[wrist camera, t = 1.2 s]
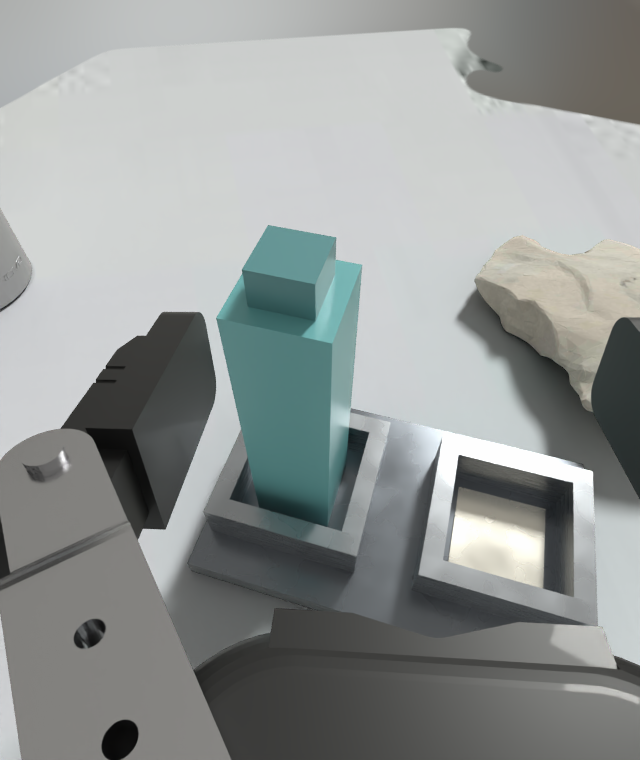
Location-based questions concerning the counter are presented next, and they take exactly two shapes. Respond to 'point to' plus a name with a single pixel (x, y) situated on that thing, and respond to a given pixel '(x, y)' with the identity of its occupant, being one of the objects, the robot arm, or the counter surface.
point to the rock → (563, 300)
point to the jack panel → (418, 534)
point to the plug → (293, 368)
